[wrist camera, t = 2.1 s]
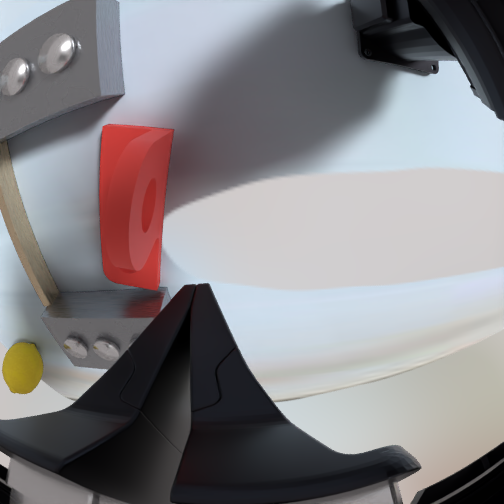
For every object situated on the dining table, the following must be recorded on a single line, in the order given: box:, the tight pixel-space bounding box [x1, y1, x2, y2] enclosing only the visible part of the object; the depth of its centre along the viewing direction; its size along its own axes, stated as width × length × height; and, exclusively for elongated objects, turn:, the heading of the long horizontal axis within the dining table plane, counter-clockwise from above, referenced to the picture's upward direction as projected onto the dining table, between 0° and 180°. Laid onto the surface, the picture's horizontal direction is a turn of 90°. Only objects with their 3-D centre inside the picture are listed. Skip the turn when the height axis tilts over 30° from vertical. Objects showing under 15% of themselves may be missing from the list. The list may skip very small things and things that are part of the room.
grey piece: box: [0, 0, 171, 369], centre depth 16 cm, size 12×29×4 cm, turn 4°
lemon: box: [2, 342, 43, 394], centre depth 23 cm, size 6×6×8 cm
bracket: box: [99, 124, 174, 291], centre depth 15 cm, size 12×4×8 cm, turn 167°
